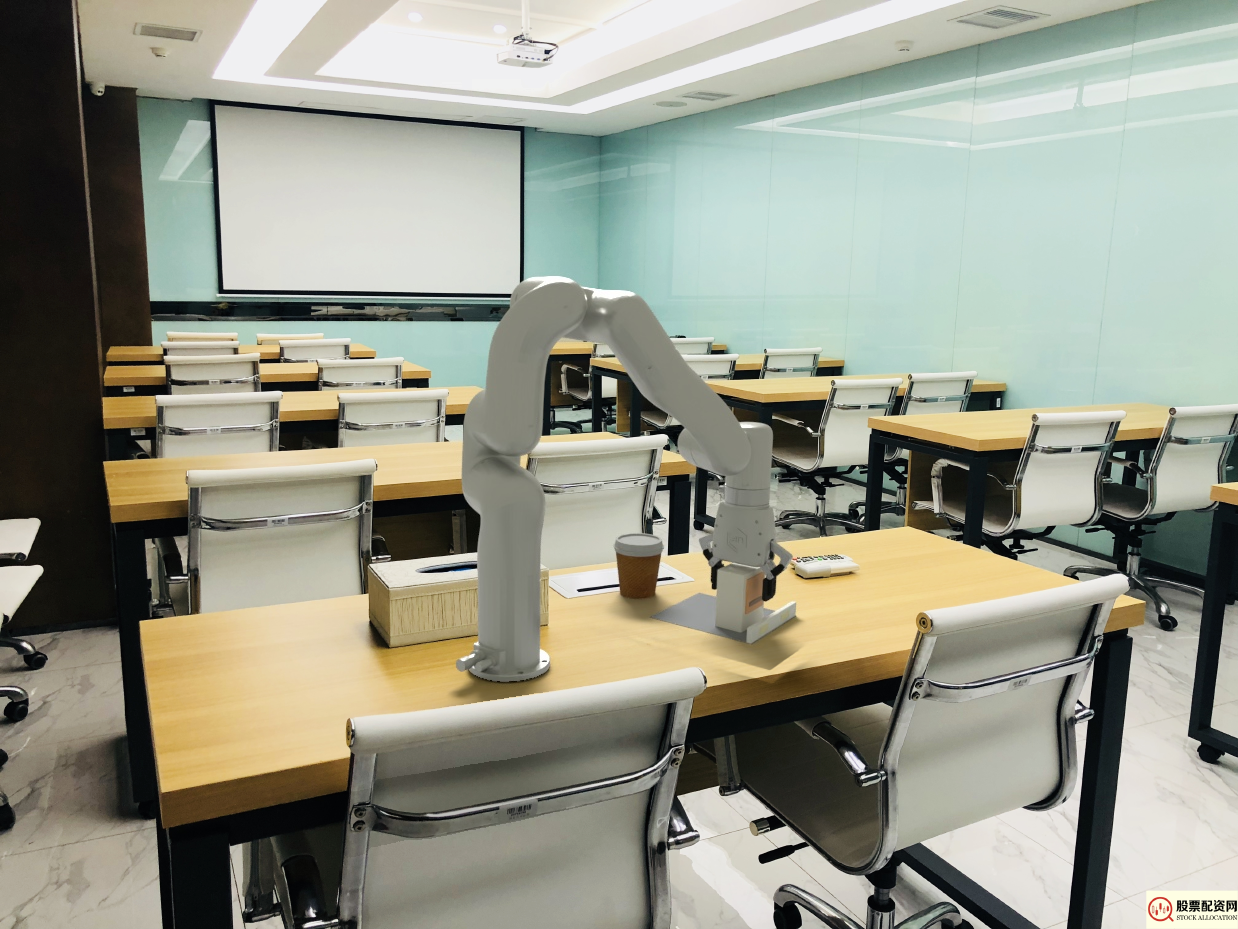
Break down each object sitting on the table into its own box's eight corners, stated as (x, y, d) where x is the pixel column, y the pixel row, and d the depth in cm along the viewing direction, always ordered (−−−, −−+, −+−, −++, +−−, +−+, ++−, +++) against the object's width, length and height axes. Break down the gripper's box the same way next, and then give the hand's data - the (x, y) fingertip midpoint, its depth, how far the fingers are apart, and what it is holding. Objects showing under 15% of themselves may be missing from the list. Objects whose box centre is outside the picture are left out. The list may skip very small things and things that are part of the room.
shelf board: (751, 652, 151) (752, 629, 150) (649, 625, 162) (649, 603, 161) (796, 623, 164) (797, 602, 164) (698, 600, 176) (699, 580, 175)
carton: (715, 626, 158) (717, 569, 156) (737, 613, 165) (740, 559, 163) (743, 633, 155) (746, 575, 153) (765, 620, 162) (767, 565, 160)
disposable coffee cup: (643, 612, 168) (644, 549, 166) (601, 601, 174) (603, 539, 172) (672, 599, 176) (674, 538, 174) (632, 589, 181) (633, 529, 179)
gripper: (691, 492, 158) (687, 588, 161) (784, 507, 148) (778, 610, 151) (713, 485, 164) (709, 578, 167) (804, 500, 154) (798, 598, 157)
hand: (742, 593), depth 159 cm, fingers open, 9 cm apart
